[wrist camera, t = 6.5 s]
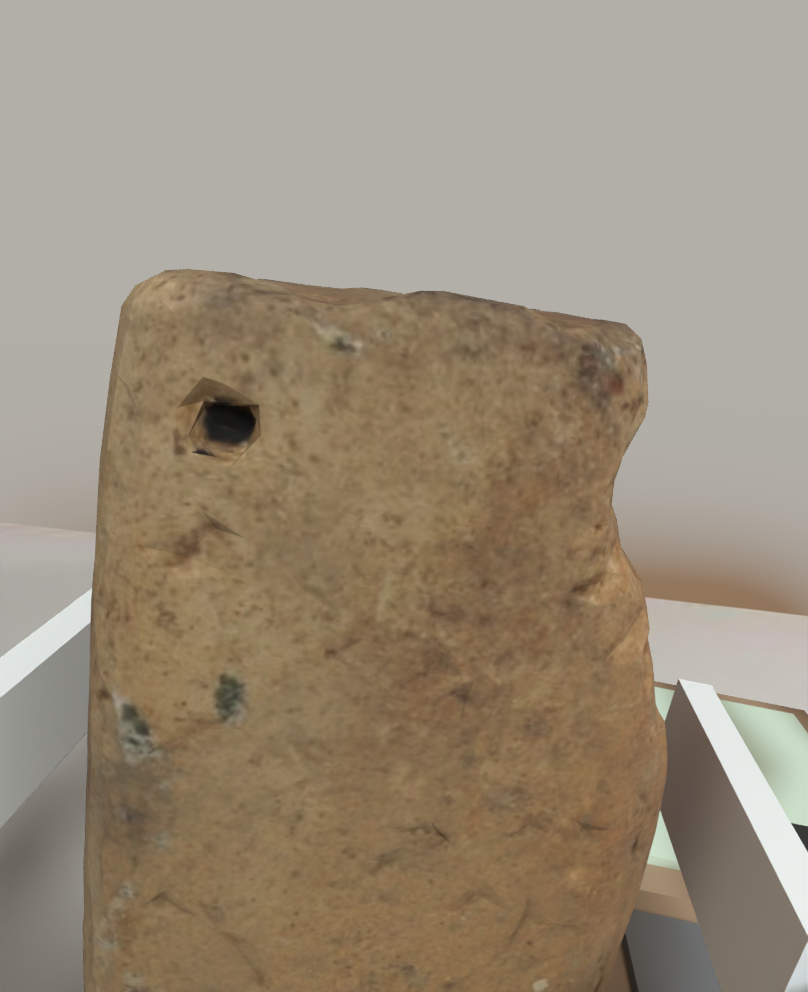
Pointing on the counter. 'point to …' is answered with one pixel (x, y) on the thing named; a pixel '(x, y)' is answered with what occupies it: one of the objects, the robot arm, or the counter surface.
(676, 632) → the counter surface
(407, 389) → the block
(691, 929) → the board
